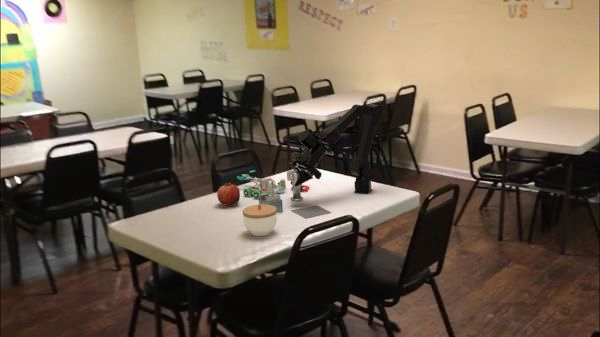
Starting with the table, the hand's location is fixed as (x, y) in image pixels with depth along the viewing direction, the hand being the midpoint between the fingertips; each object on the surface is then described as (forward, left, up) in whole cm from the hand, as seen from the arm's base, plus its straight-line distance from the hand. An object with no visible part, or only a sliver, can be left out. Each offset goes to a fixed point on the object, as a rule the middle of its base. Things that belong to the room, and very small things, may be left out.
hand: (293, 185), depth 246 cm
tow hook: (+8, -24, -10) cm, 27 cm away
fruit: (+27, +7, -9) cm, 30 cm away
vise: (+7, +7, -9) cm, 14 cm away
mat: (-10, +4, -9) cm, 14 cm away
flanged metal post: (-1, -1, -7) cm, 7 cm away
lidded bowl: (-2, +32, -9) cm, 34 cm away
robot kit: (+25, -14, -10) cm, 31 cm away
